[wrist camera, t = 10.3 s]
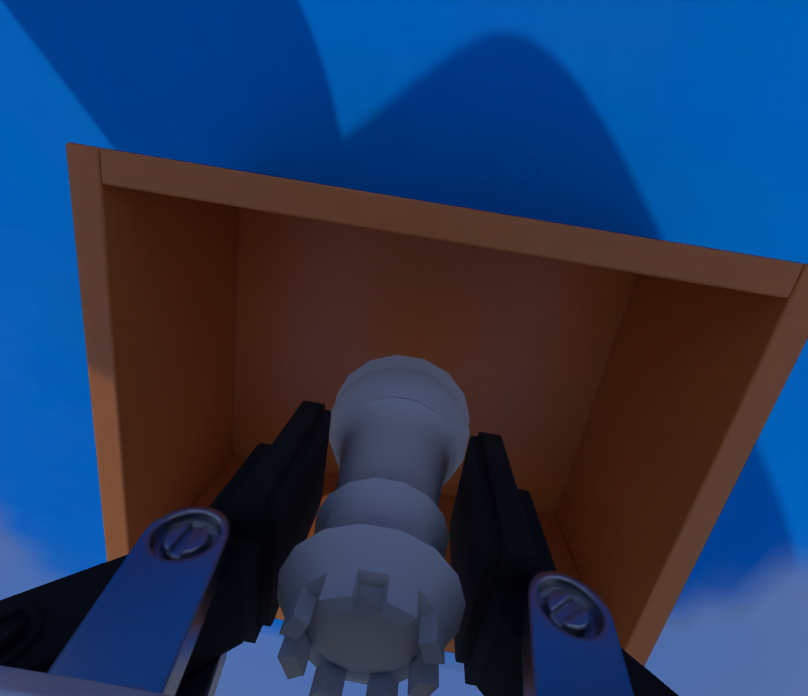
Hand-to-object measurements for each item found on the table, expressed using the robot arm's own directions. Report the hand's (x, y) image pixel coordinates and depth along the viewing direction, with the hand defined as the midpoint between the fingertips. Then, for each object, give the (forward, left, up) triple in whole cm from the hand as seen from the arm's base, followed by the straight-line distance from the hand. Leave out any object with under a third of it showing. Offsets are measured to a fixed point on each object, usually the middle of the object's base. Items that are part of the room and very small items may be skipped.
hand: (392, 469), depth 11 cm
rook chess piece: (0, 0, -3) cm, 3 cm away
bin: (0, 0, -8) cm, 8 cm away
